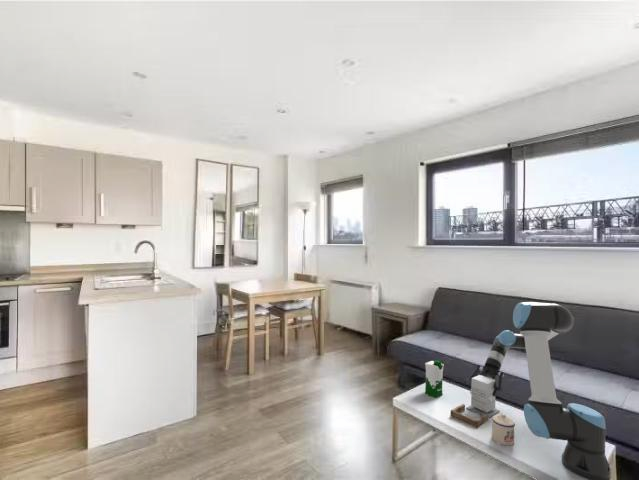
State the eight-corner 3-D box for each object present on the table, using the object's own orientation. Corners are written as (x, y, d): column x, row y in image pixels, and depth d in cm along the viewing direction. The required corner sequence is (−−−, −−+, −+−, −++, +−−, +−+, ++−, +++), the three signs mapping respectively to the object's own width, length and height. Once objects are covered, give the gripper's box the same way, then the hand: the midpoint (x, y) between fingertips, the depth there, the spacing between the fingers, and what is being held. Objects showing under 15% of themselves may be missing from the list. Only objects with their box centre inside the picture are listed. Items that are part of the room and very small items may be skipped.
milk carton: (436, 399, 188) (437, 363, 188) (422, 393, 195) (423, 359, 195) (444, 395, 193) (445, 360, 193) (431, 389, 200) (431, 356, 201)
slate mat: (489, 418, 168) (489, 417, 168) (466, 408, 177) (466, 407, 177) (499, 411, 175) (499, 410, 175) (477, 402, 185) (477, 401, 185)
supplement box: (479, 401, 183) (479, 374, 183) (495, 408, 175) (496, 379, 176) (470, 405, 177) (470, 377, 178) (487, 412, 170) (487, 383, 170)
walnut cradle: (476, 428, 158) (476, 421, 158) (450, 416, 169) (450, 410, 169) (488, 420, 166) (488, 414, 166) (462, 409, 176) (462, 404, 176)
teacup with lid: (507, 448, 142) (507, 421, 143) (487, 437, 150) (487, 412, 150) (522, 440, 149) (522, 414, 149) (502, 430, 156) (502, 406, 157)
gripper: (517, 371, 178) (504, 409, 168) (477, 359, 195) (463, 393, 184) (513, 363, 175) (499, 401, 164) (473, 352, 192) (458, 386, 181)
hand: (480, 397), depth 174 cm, fingers closed on supplement box, 9 cm apart
